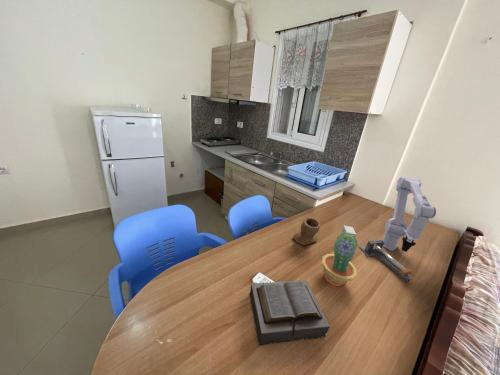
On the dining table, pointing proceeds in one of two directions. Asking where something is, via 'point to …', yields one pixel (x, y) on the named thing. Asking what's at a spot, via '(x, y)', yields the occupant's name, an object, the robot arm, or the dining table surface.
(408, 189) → the robot arm
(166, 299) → the dining table surface
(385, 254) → the metal rod with plate
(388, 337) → the dining table surface
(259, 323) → the bible
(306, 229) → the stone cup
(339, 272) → the potted cactus
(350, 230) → the small box
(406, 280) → the grey hammer
